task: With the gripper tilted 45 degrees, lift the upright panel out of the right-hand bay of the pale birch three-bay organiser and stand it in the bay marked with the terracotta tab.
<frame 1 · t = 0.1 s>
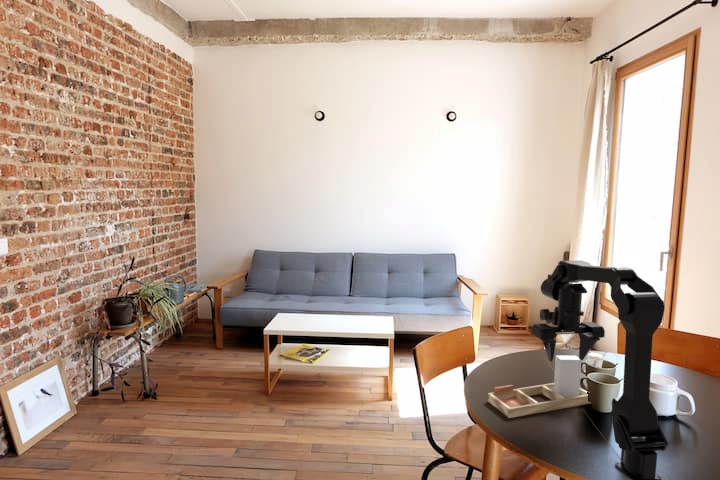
hand: (565, 360, 125), 15 cm above the table, tool pointing down, fingers open, 9 cm apart
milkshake: (594, 381, 146), on the table
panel: (565, 397, 134), resting in organiser
organiser: (540, 402, 131), on the table
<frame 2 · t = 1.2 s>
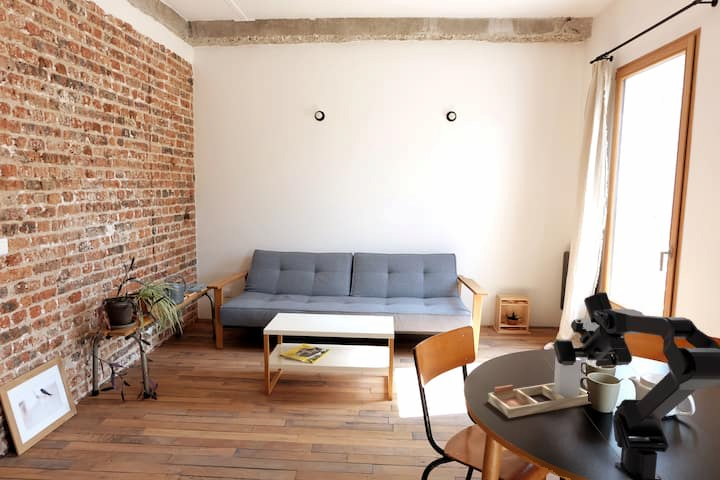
hand: (580, 364, 126), 13 cm above the table, tool tilted 45°, fingers open, 9 cm apart
nothing on the table moved.
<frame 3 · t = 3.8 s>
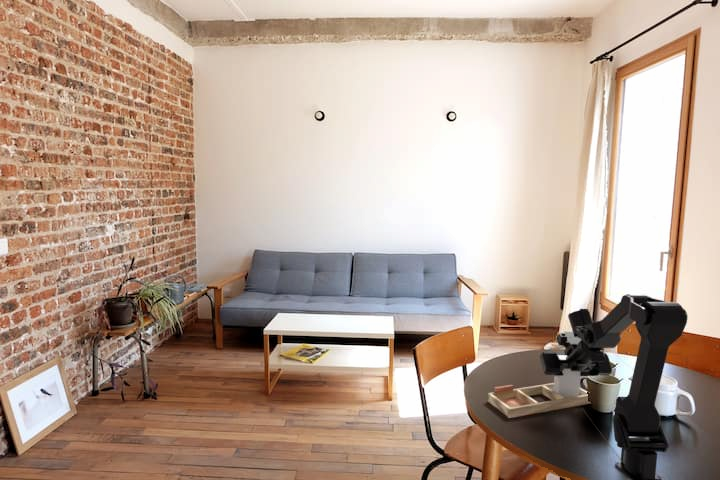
hand: (565, 374, 135), 7 cm above the table, tool tilted 45°, fingers closed on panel, 6 cm apart
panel: (565, 397, 134), resting in organiser, touching gripper
everything else where it was.
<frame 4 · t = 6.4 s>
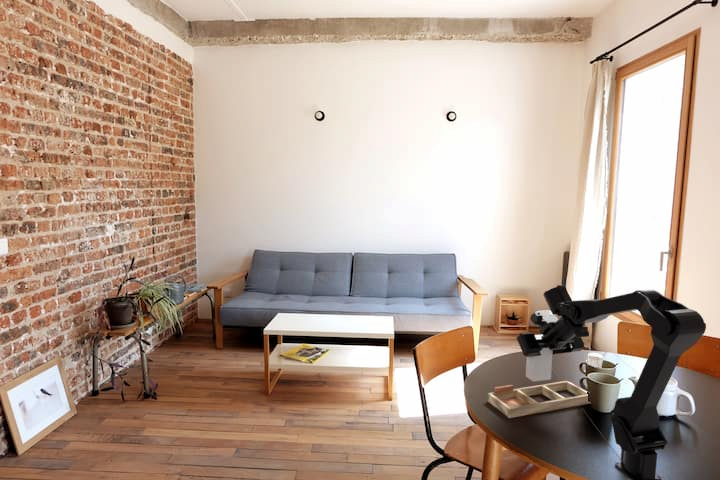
hand: (536, 354, 132), 13 cm above the table, tool tilted 45°, fingers closed on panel, 6 cm apart
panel: (538, 378, 132), point 7 cm above the table, touching gripper
everything else where it was.
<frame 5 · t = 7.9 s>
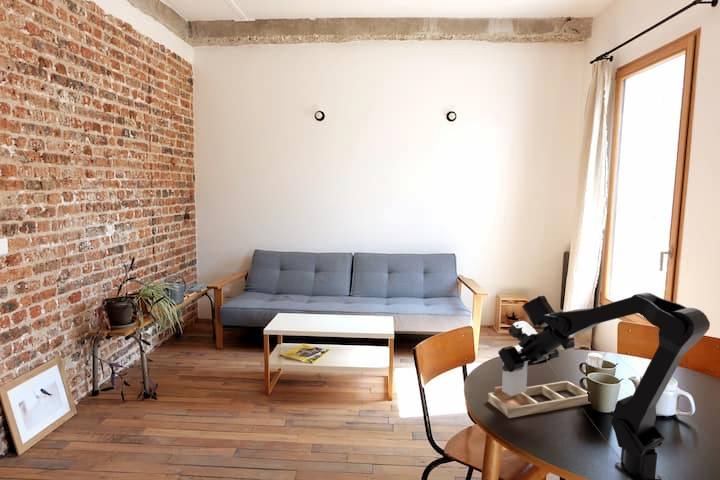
hand: (511, 367, 128), 11 cm above the table, tool tilted 45°, fingers closed on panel, 6 cm apart
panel: (514, 391, 128), point 5 cm above the table, touching gripper
everything else where it was.
when the fingers open (8 cm above the table, at t = 9.1 s): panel stays where it is, resting on organiser.
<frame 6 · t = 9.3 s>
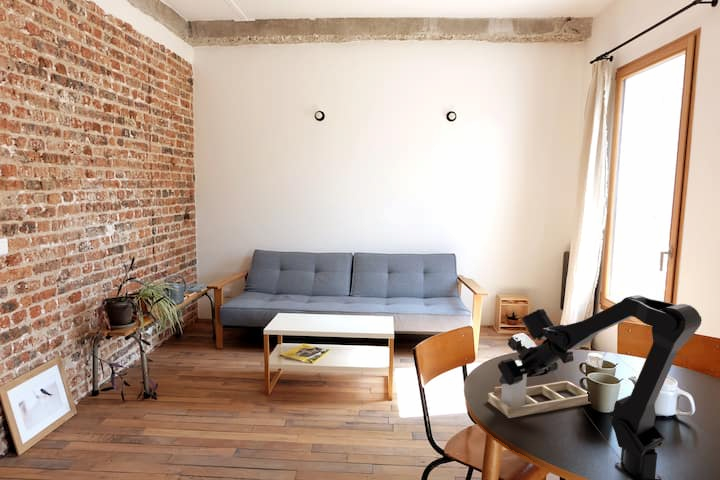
hand: (510, 379, 129), 8 cm above the table, tool tilted 45°, fingers open, 8 cm apart
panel: (513, 406, 129), resting on organiser
everything else where it was.
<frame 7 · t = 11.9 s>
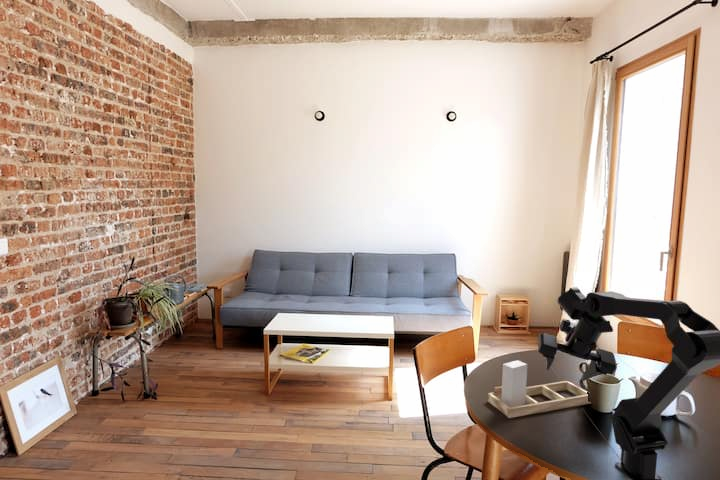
hand: (564, 374, 122), 12 cm above the table, tool tilted 25°, fingers open, 9 cm apart
nothing on the table moved.
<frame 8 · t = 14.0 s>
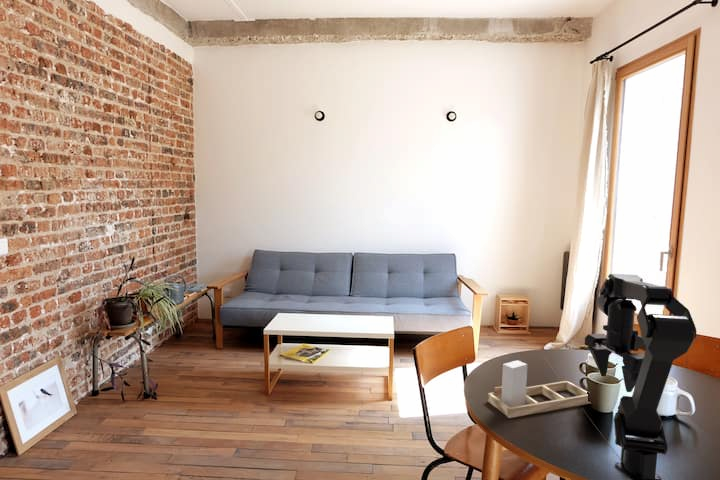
hand: (615, 383, 114), 13 cm above the table, tool pointing down, fingers open, 9 cm apart
nothing on the table moved.
at the end: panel 0.0 cm from the target spot on the organiser, point 0.2 cm above the organiser's base; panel tilted 0°; the gripper is holding nothing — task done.
